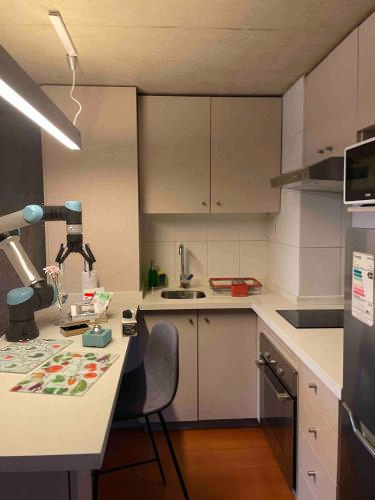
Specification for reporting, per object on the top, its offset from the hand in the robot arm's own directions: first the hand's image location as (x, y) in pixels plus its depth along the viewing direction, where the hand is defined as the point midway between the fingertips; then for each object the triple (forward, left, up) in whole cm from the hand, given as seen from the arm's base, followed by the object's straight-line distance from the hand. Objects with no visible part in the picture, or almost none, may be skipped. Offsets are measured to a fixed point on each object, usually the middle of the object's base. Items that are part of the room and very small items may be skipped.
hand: (76, 277), depth 180 cm
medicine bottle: (+25, +4, -29) cm, 38 cm away
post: (+15, -11, -29) cm, 34 cm away
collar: (+15, -11, -28) cm, 34 cm away
